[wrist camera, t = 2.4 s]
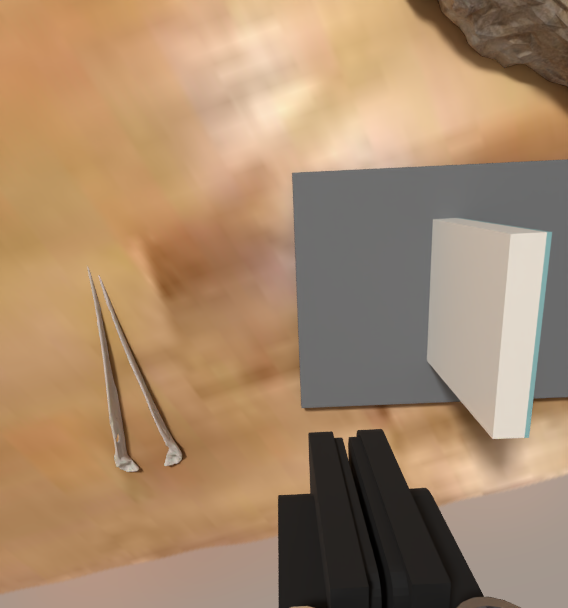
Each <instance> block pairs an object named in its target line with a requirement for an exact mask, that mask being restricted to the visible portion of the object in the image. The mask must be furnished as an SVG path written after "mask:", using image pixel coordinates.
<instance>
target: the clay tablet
mask: <svg viewBox="0 0 568 608" xmlns="http://www.w3.org/2000/svg"><path fill="white" fill-rule="evenodd" d="M438 1H439V4H440V8H441V11H442V13H444V14H445V15H446V16H447V17H448V18H449V19H450V20H451V21H452V22H453V23H454V24H455V25H457V26H459V28H460V29H461V31H462V32H463V33H464V34H465V36H466V39H467V43H468V44H469V45H470V46H471V47H472V48H473V49H474V50H476V51H477V52H478V53H479V54H480V55H481V56H484V57H488V58H492V59H495V60H496V61H497V62H499V63H500V64H501V65H502V66H503V67H504V68H505V67H508V66H512V65H515V64H519V63H520V64H525V65H527V66H528V67H530V68H531V69H533V70H534V71H536V72H537V73H538V74H540V75H541V76H542V77H544V78H545V79H546V80H548V81H551V82H554V83H558V84H561V85H564V86H567V87H568V0H438Z"/></svg>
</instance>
